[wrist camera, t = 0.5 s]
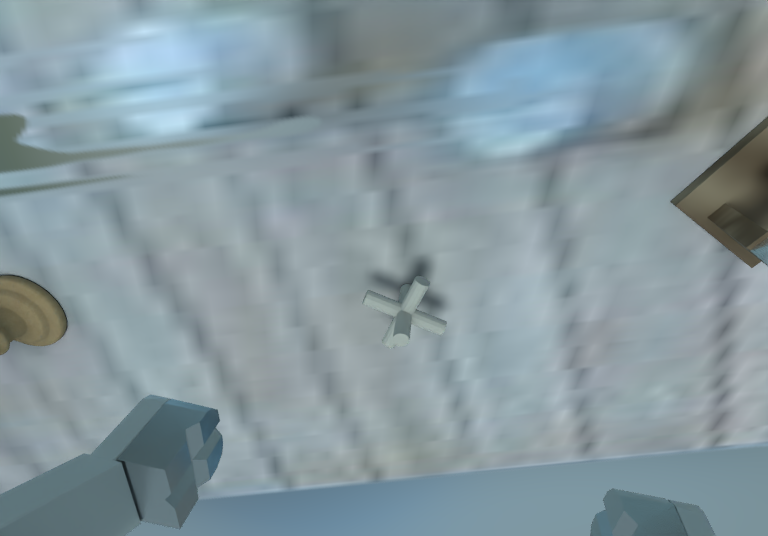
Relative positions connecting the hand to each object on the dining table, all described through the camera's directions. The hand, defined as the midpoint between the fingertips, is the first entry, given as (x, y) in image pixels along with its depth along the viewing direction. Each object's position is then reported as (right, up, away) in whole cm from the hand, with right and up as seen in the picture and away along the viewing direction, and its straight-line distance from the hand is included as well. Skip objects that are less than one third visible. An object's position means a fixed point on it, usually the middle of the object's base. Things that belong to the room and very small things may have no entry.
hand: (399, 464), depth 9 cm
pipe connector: (+3, +1, +47) cm, 47 cm away
